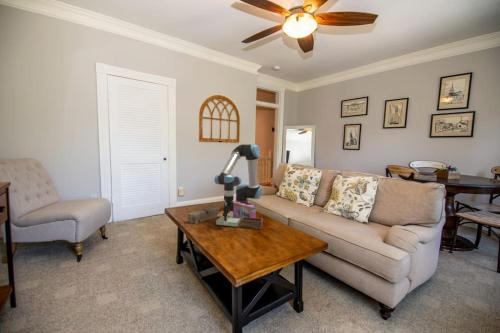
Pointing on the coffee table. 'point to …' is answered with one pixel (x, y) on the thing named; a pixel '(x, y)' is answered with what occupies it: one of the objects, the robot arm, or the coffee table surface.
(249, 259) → the coffee table surface
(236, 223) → the lid
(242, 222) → the crate
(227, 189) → the robot arm
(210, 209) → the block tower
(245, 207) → the gum box
